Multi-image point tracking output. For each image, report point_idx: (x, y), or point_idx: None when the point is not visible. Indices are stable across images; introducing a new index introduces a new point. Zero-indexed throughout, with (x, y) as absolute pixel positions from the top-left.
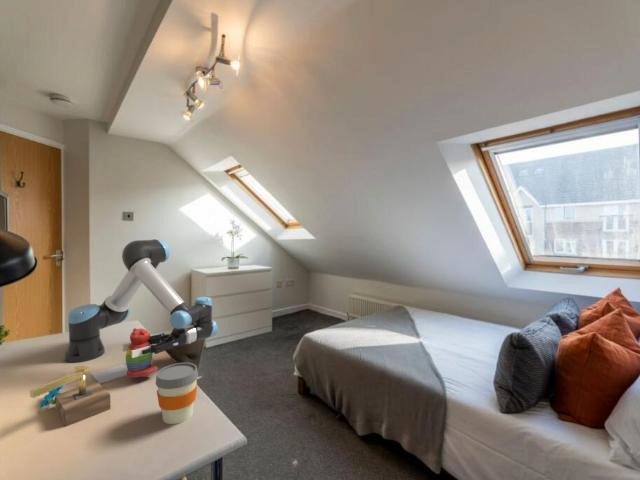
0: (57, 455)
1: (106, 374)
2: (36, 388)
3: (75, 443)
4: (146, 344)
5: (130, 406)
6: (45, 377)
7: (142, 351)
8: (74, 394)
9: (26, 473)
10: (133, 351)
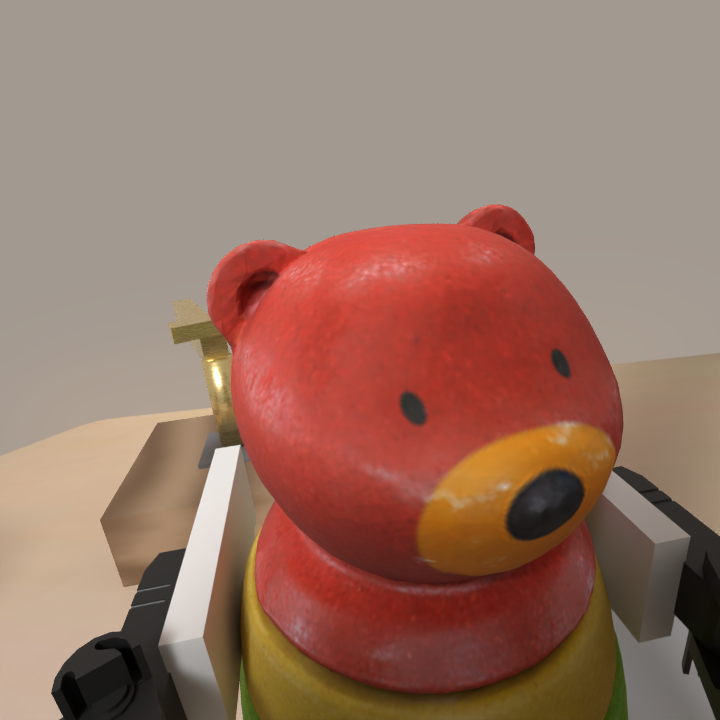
0: (31, 471)
1: None
2: (185, 301)
3: (29, 497)
4: (288, 581)
5: (18, 680)
6: (678, 409)
7: (176, 559)
8: None
9: (44, 440)
10: (215, 461)
